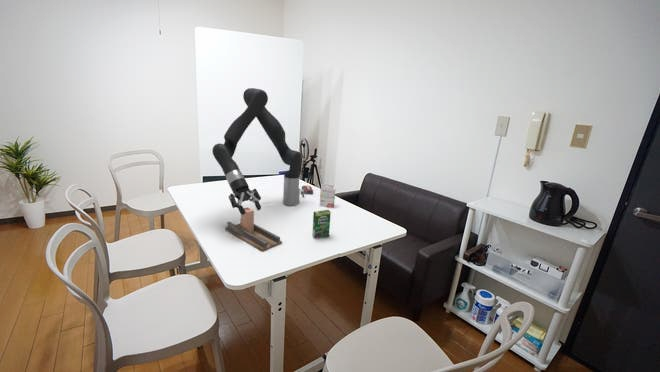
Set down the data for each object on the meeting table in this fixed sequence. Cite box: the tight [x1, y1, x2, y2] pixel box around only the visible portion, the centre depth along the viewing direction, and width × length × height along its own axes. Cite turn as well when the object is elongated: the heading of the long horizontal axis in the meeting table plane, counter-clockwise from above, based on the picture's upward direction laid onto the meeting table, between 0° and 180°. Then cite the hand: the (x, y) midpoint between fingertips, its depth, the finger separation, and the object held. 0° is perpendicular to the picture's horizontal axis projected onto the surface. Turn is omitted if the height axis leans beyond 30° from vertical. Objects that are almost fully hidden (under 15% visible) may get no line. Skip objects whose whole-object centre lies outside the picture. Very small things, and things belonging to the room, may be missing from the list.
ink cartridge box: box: [319, 183, 336, 209], centre depth 180 cm, size 9×5×15 cm, turn 76°
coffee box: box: [312, 209, 331, 239], centre depth 139 cm, size 8×3×13 cm, turn 114°
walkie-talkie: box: [300, 185, 314, 197], centre depth 203 cm, size 9×4×20 cm
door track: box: [224, 218, 283, 252], centre depth 134 cm, size 11×28×4 cm, turn 51°
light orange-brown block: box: [240, 207, 255, 233], centre depth 135 cm, size 4×5×11 cm
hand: (252, 211), depth 132 cm, fingers open, 8 cm apart
